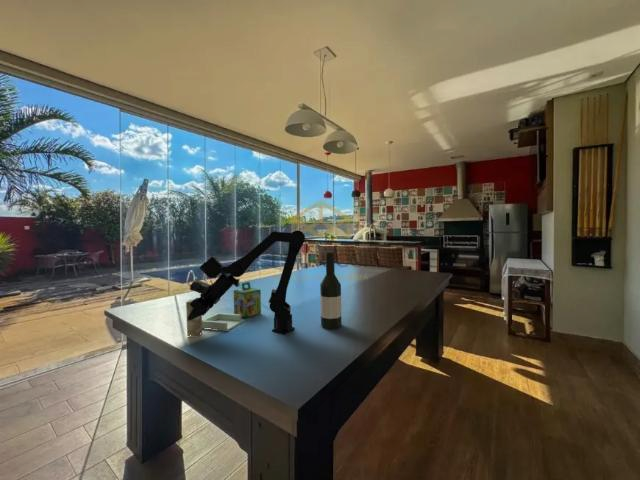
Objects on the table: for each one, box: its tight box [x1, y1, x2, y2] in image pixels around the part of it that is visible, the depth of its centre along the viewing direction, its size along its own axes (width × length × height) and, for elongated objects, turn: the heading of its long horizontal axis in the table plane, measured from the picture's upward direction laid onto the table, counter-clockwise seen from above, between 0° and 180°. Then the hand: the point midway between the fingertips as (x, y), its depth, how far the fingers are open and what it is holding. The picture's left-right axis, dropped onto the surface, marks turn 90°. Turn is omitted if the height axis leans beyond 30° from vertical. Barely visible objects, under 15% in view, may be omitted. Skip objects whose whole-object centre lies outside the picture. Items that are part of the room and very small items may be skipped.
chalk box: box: [233, 281, 262, 319], centre depth 128 cm, size 9×9×15 cm
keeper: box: [202, 312, 245, 332], centre depth 114 cm, size 14×12×3 cm
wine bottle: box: [319, 250, 342, 330], centre depth 110 cm, size 8×8×30 cm
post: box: [185, 298, 203, 337], centre depth 103 cm, size 4×4×13 cm
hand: (190, 317), depth 103 cm, fingers open, 4 cm apart
